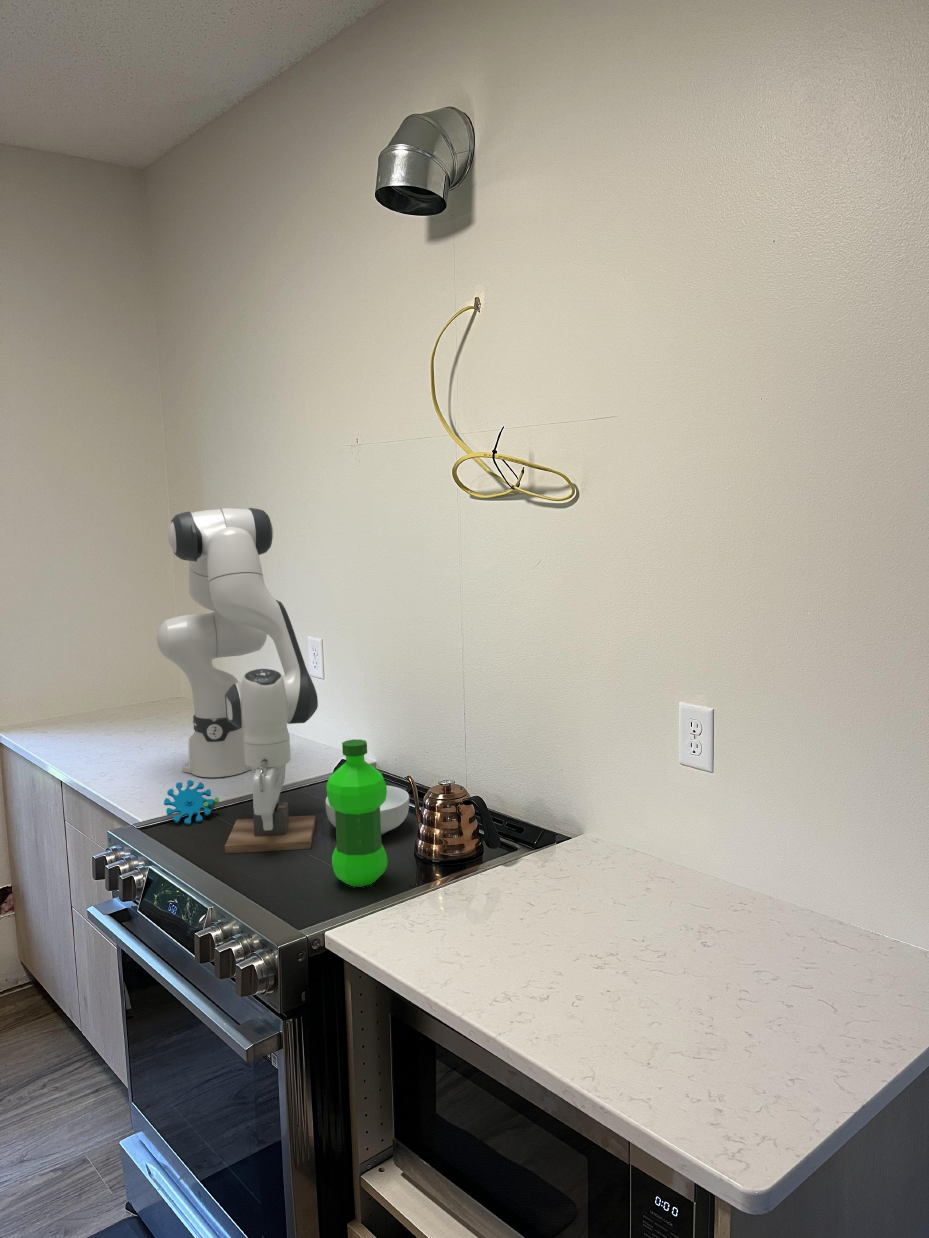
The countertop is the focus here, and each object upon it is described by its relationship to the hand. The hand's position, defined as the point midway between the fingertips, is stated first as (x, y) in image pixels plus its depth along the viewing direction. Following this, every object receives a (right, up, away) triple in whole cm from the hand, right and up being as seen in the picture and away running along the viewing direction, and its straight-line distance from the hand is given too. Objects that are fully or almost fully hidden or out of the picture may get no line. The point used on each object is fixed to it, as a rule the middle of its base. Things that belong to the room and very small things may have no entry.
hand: (271, 820), depth 182 cm
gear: (-19, -2, +12) cm, 23 cm away
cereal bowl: (+19, -3, +3) cm, 19 cm away
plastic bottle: (+20, -6, -21) cm, 29 cm away
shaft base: (0, -3, 0) cm, 3 cm away
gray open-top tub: (0, -2, 0) cm, 2 cm away
